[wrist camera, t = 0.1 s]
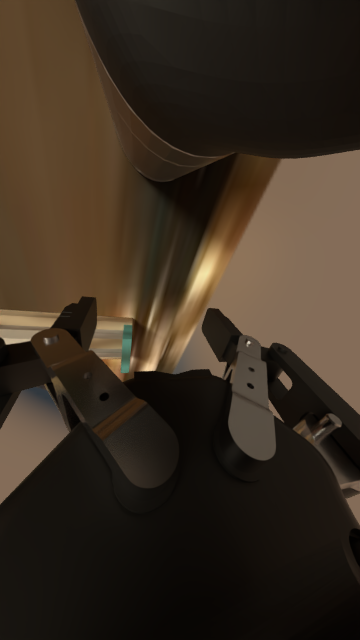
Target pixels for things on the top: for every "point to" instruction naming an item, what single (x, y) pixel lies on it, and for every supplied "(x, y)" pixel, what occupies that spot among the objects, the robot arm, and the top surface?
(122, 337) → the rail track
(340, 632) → the robot arm
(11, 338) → the carriage
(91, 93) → the top surface
